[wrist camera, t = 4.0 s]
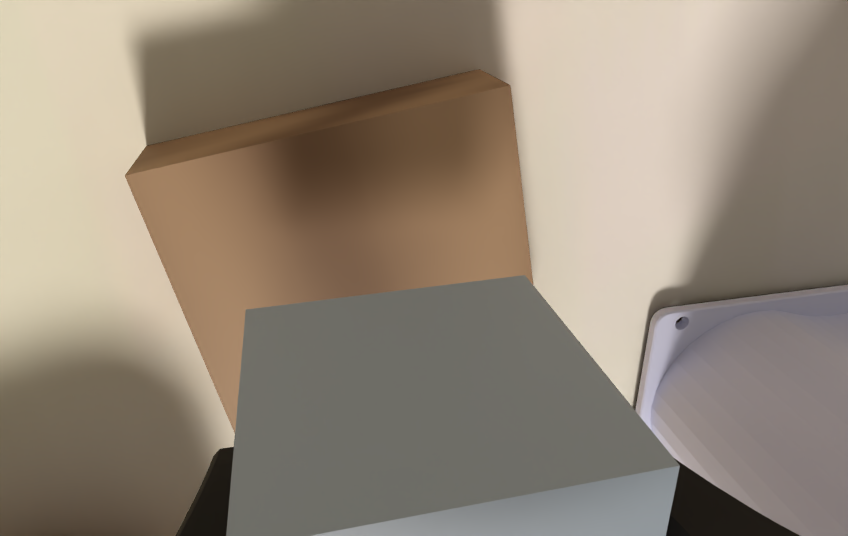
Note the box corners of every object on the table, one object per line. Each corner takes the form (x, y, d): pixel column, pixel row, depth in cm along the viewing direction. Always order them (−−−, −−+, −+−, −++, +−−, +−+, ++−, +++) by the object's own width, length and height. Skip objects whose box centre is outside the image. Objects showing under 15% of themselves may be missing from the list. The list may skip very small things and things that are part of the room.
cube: (525, 275, 12) (680, 465, 7) (514, 478, 14) (628, 721, 9) (245, 309, 11) (224, 552, 6) (282, 521, 13) (286, 811, 8)
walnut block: (475, 66, 17) (510, 85, 15) (511, 332, 22) (544, 383, 19) (149, 141, 16) (124, 175, 14) (253, 403, 21) (249, 468, 18)
